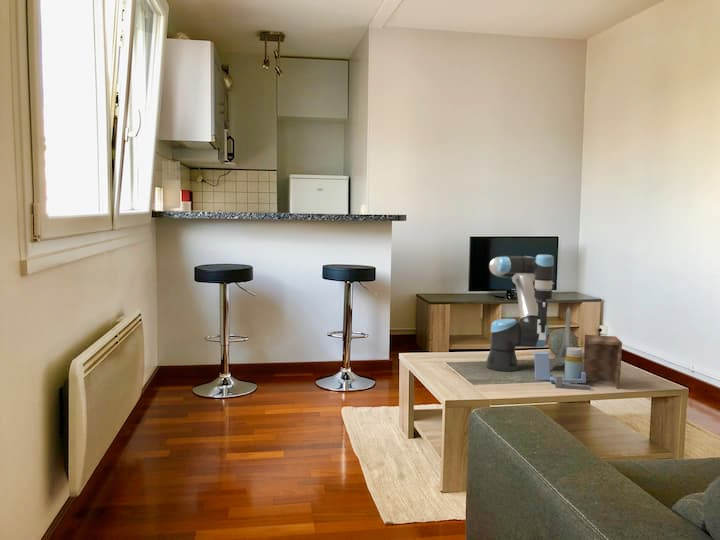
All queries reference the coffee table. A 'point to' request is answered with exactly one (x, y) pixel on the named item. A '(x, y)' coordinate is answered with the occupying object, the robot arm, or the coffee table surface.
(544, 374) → the pale blue bracket stand
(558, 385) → the grey long bar
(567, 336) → the eiffel tower
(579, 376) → the bottle
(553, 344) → the decorative sphere
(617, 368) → the cubby
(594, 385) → the coffee table surface
